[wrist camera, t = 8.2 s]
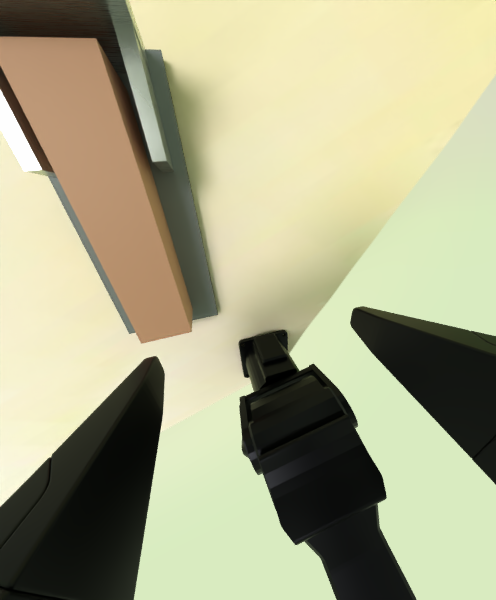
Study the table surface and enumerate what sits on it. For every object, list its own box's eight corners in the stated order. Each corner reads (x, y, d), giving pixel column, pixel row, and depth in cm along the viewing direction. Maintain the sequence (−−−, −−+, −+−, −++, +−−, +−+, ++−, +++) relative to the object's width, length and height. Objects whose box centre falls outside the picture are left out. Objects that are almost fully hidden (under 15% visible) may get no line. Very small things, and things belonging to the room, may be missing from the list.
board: (217, 311, 21) (217, 314, 20) (131, 329, 19) (129, 333, 18) (163, 59, 12) (160, 49, 11) (-5, 57, 10) (-20, 45, 9)
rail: (192, 309, 19) (191, 331, 15) (152, 317, 18) (141, 343, 15) (127, 90, 11) (96, 38, 8) (54, 92, 11) (-15, 36, 7)
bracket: (174, 171, 14) (159, 148, 8) (65, 180, 12) (-30, 160, 7) (145, 49, 11) (95, -100, 6) (1, 46, 10) (-233, -147, 4)
